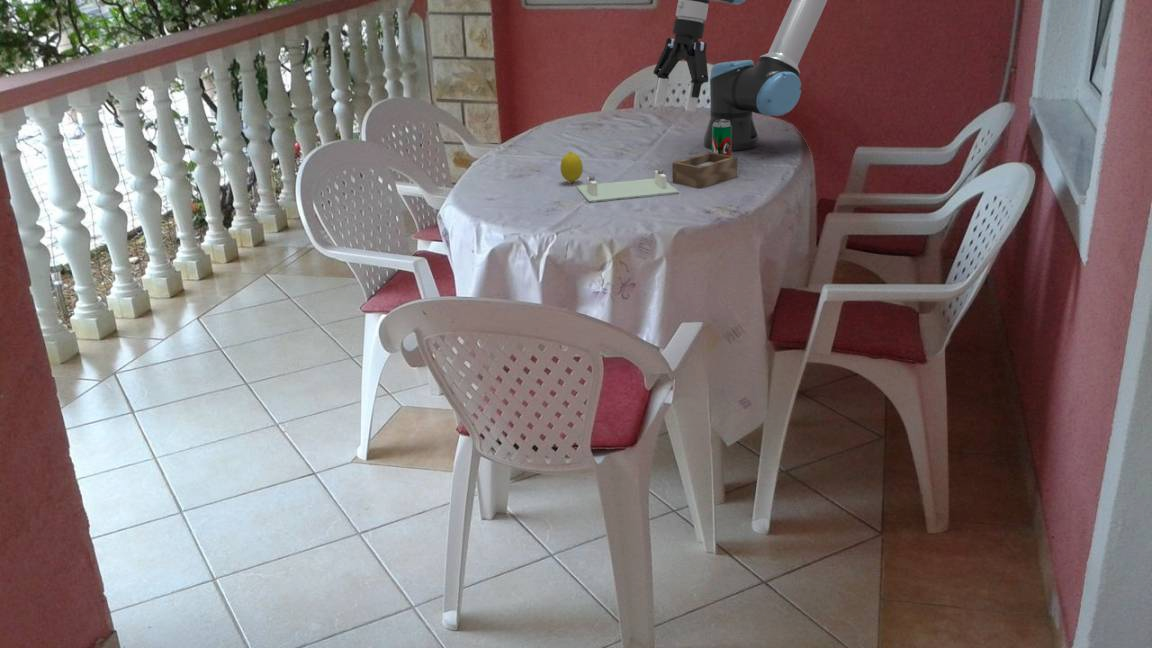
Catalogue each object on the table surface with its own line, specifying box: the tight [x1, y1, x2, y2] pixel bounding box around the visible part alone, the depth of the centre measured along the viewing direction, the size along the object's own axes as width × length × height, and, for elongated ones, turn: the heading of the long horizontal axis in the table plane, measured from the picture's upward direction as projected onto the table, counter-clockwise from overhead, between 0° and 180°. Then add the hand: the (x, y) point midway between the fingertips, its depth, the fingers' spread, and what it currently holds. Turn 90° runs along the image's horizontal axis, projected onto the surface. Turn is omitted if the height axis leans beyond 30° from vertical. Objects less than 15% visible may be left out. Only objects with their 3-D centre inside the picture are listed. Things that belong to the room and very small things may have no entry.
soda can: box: [711, 120, 733, 156], centre depth 266 cm, size 5×5×12 cm
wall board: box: [575, 169, 680, 203], centre depth 250 cm, size 22×14×4 cm, turn 102°
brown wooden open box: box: [671, 151, 738, 189], centre depth 256 cm, size 14×9×5 cm, turn 132°
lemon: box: [560, 151, 584, 184], centre depth 258 cm, size 6×6×8 cm
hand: (674, 107), depth 257 cm, fingers open, 13 cm apart
